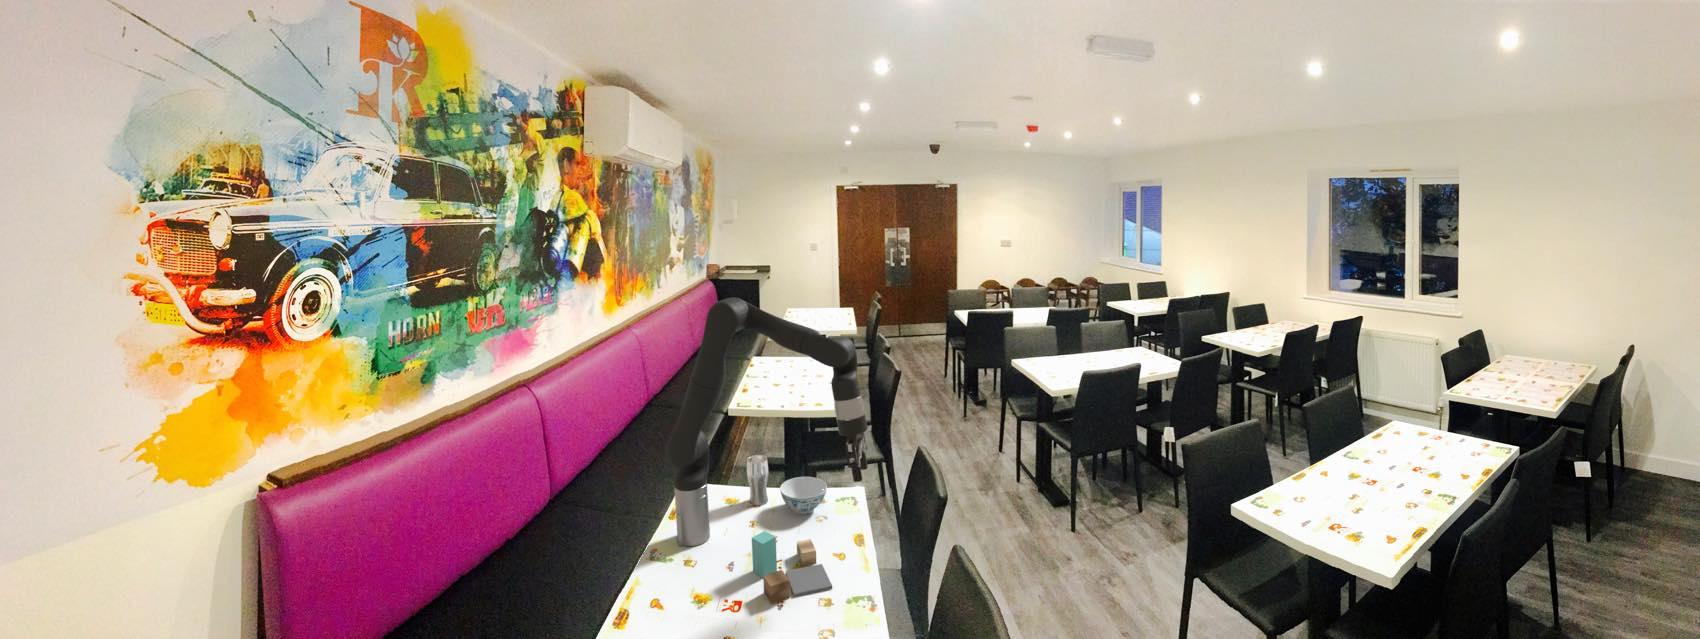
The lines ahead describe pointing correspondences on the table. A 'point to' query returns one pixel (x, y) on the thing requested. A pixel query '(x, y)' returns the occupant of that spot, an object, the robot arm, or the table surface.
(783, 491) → the chinaware
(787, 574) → the coaster
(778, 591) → the walnut cube
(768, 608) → the table surface
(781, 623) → the table surface
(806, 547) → the oak block
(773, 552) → the teal block
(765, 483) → the beer glass
